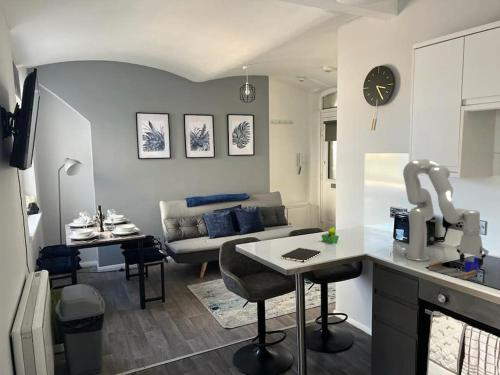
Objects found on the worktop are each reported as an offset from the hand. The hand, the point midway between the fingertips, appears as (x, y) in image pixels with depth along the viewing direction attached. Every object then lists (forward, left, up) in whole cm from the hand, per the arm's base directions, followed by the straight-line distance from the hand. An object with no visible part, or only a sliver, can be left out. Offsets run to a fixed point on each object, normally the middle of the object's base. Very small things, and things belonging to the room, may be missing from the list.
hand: (471, 263), depth 208 cm
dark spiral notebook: (-75, -58, -4) cm, 95 cm away
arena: (-3, -14, -3) cm, 15 cm away
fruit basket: (-90, -18, -4) cm, 92 cm away
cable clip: (0, 0, -4) cm, 4 cm away
